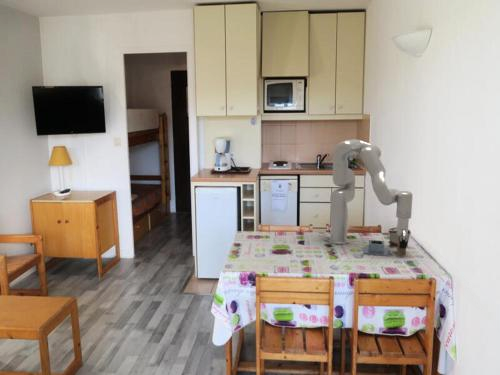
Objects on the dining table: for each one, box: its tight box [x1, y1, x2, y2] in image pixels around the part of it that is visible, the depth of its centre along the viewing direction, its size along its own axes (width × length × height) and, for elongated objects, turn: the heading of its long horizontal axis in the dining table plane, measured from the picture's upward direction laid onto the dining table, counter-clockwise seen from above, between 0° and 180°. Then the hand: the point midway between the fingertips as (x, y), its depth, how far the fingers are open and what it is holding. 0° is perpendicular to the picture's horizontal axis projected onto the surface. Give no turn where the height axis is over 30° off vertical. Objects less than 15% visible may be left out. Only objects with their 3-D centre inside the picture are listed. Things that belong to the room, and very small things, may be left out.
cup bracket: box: [362, 239, 391, 257], centre depth 238 cm, size 14×12×5 cm
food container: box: [387, 227, 412, 248], centre depth 248 cm, size 12×6×10 cm, turn 84°
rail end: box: [396, 236, 407, 256], centre depth 234 cm, size 4×4×10 cm
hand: (401, 245), depth 234 cm, fingers open, 9 cm apart
